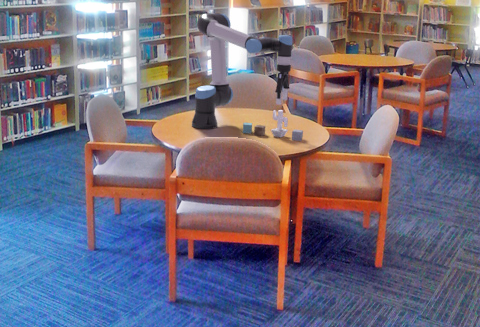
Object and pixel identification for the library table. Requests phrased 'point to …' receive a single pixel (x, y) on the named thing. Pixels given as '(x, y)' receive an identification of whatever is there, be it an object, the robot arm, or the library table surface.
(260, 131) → the walnut block
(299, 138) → the slate-grey block
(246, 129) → the dusty-teal block
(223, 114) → the library table surface
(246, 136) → the library table surface
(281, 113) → the figurine
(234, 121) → the library table surface
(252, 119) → the library table surface
